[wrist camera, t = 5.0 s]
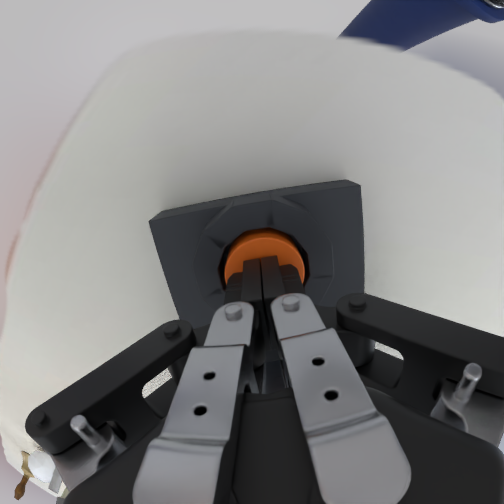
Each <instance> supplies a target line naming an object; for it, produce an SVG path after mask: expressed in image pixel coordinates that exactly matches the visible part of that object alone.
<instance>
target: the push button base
mask: <svg viewBox="0 0 504 504" xmlns="http://www.w3.org/2000/svg"><path fill="white" fill-rule="evenodd" d="M149 224H150V228H151V232H152V235H153V239H154V242H155V245H156V249H157V252H158V255H159V259H160V262H161V265H162V268H163V272H164V275H165V278H166V281H167V284H168V287H169V290H170V293H171V296H172V299H173V301H174V304H175V307H176V310H177V313H178V315H179V318H180V320H186V321H188V322H190V323H191V325H192V328H193V329H196V328H199V327H202V326H205V325H208V324H210V323H211V322H212V319H213V315H214V313H215V311H216V310H217V309H218V308H220V307H221V306H223V304H224V298H225V292H226V287H227V284H226V281H225V266H226V261H227V256H228V252H229V249H230V247H231V245H232V243H233V242H234V240H235V239H236V238H237V237H238V236H240V235H241V234H242V233H243V232H245V231H250V230H256V229H262V228H268V227H270V228H273V229H276V230H278V231H281V232H284V233H286V234H287V235H288V236H290V238H291V239H292V240H293V241H294V243H295V244H296V246H297V249H298V251H299V253H300V256H301V258H302V261H303V264H304V270H305V275H304V280H303V287H304V290H305V293H306V295H307V296H309V297H310V298H311V300H312V302H313V304H315V305H318V306H323V307H336V304H337V301H338V300H339V299H340V298H341V297H343V296H345V295H348V294H352V293H364V232H363V213H362V198H361V186H360V185H359V184H356V183H354V182H351V181H349V180H339V181H331V182H324V183H316V184H309V185H302V186H295V187H288V188H282V189H276V190H269V191H263V192H257V193H252V194H246V195H240V196H235V197H229V198H224V199H219V200H213V201H208V202H203V203H198V204H194V205H189V206H184V207H179V208H175V209H170V210H166V211H161V212H160V213H159V214H157V215H156V216H155V217H154V218H152V219H151V220H150V221H149ZM270 338H271V334H270ZM271 349H272V351H266V352H265V353H266V359H265V363H266V362H270V361H275V360H279V354H278V350H273V345H272V340H271Z"/></svg>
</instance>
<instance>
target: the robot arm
mask: <svg viewBox="0 0 504 504" xmlns="http://www.w3.org/2000/svg"><path fill="white" fill-rule="evenodd" d="M480 1H481V2H482V3H484V4H485V5H487V6H489V7H491V8H493V9H502V8H504V0H480ZM261 267H262V268H261ZM270 334H271V338H270ZM271 340H272V345H273V350H278V354H279V360H280V366H281V370H282V375H283V379H284V383H285V389H282V390H279V391H276V392H273V393H270V394H265V380H266V364H265V359H266V353H265V352H266V351H272V349H271ZM375 341H376V342H379V343H381V344H384V345H386V346H389V347H391V348H394V349H396V350H398V351H399V352H400V353H401V354H402V356H403V359H404V360H401V359H399V358H396V357H394V356H392V355H389V354H387V353H384V352H382V351H380V350H377V349H375ZM166 368H168V370H169V372H170V374H171V376H172V378H171V379H169V380H168V381H167V382H166V383H164V384H163V385H162V386H160V387H159V388H158V389H156V390H155V391H154V392H153V393H151V394H150V395H149V396H147V397H146V398H143V396H142V389H143V387H144V385H145V384H146V383H147V382H149V381H150V380H152V379H153V378H154V377H156V376H157V375H158V374H160V373H161V372H162V371H164V370H165V369H166ZM25 429H26V432H27V433H28V434H29V436H30V437H31V438H32V439H33V440H34V441H36V442H37V443H38V444H39V445H40V446H41V447H42V448H43V450H44V451H45V452H46V453H47V454H48V455H49V456H50V457H51V458H52V460H53V462H54V464H55V466H56V468H57V470H58V472H59V474H60V476H61V478H62V480H63V482H64V484H65V485H66V487H67V489H68V491H69V493H68V495H67V496H66V498H65V500H64V502H63V504H504V454H503V453H502V451H501V450H500V449H499V448H498V446H499V444H500V441H501V438H502V435H503V433H504V337H501V336H497V335H494V334H491V333H488V332H485V331H482V330H478V329H475V328H472V327H469V326H466V325H463V324H459V323H456V322H453V321H450V320H447V319H444V318H441V317H437V316H434V315H431V314H428V313H425V312H422V311H419V310H416V309H412V308H409V307H406V306H403V305H400V304H397V303H394V302H391V301H387V300H384V299H381V298H378V297H375V296H372V295H369V294H365V293H352V294H348V295H345V296H343V297H341V298H340V299H339V300H338V301H337V304H336V307H323V306H318V305H315V304H313V302H312V300H311V298H310V297H309V296H307V295H306V293H305V290H304V287H303V284H302V281H301V278H300V275H299V272H298V270H297V268H296V267H295V266H293V265H292V264H287V265H281V266H279V262H278V258H277V255H275V256H269V257H263V258H261V263H260V258H257V259H251V260H245V261H243V272H237V273H233V274H232V275H231V276H230V277H229V278H228V280H227V287H226V292H225V298H224V304H223V306H221V307H220V308H218V309H217V310H216V311H215V313H214V315H213V319H212V322H211V323H210V324H208V325H205V326H202V327H199V328H196V329H193V328H192V325H191V323H190V322H188V321H186V320H173V321H169V322H167V323H165V324H163V325H161V326H159V327H158V328H157V329H155V330H154V331H152V332H151V333H149V334H148V335H146V336H145V337H143V338H142V339H140V340H139V341H137V342H136V343H134V344H133V345H131V346H130V347H128V348H127V349H125V350H124V351H122V352H121V353H119V354H118V355H116V356H114V357H113V358H111V359H110V360H108V361H107V362H105V363H104V364H102V365H101V366H99V367H98V368H96V369H95V370H93V371H92V372H90V373H89V374H87V375H86V376H84V377H83V378H81V379H80V380H78V381H76V382H75V383H73V384H72V385H70V386H69V387H67V388H66V389H64V390H63V391H61V392H60V393H58V394H57V395H55V396H53V397H52V398H50V399H49V400H47V401H46V402H44V403H43V404H41V405H40V406H38V407H36V408H35V409H34V410H33V411H32V412H31V413H30V414H29V415H28V417H27V419H26V423H25Z"/></svg>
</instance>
